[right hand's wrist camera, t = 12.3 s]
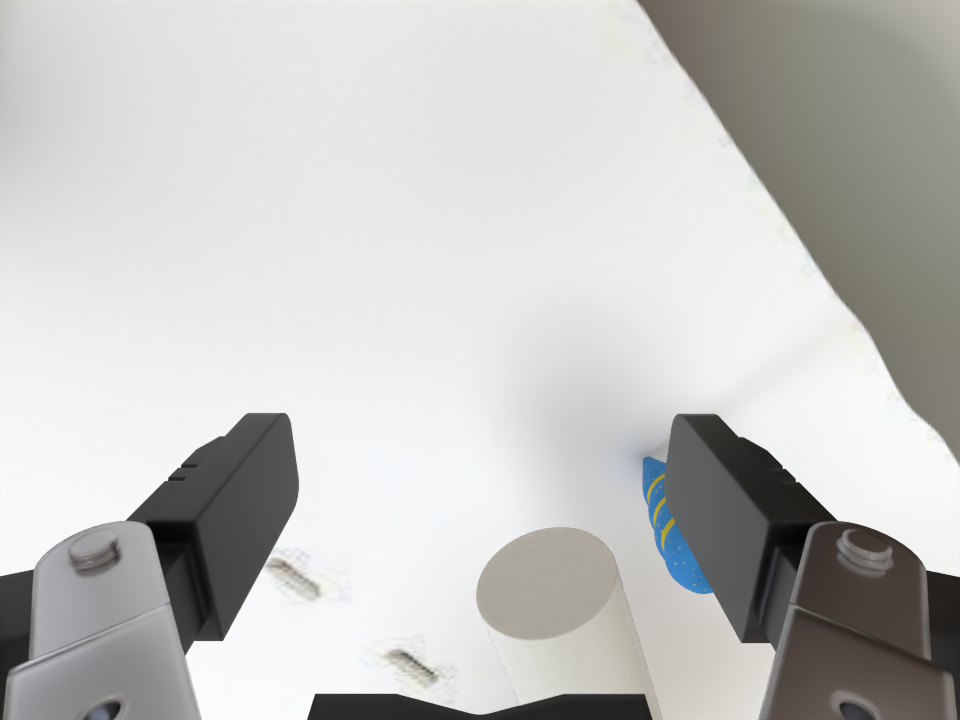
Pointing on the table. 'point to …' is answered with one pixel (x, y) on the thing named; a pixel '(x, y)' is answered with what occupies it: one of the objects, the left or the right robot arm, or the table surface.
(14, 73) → the table surface
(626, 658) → the cylinder
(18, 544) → the table surface
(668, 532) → the ornament
